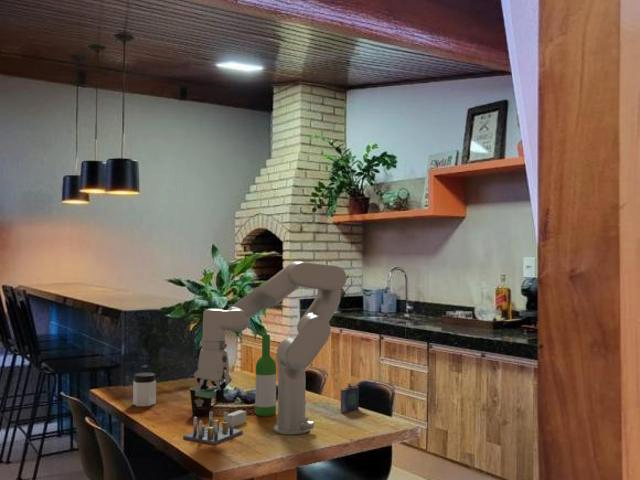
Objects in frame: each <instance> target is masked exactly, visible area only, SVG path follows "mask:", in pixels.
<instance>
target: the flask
mask: <svg viewBox="0 0 640 480" xmlns="http://www.w3.org/2000/svg"><path fill="white" fill-rule="evenodd" d="M346 385H347V386H346V387H344V388H340V413H341V414H347V413H351V412H355V411H359V408H360V407H359V402H360V401H359V400H360V396H359V394H360V387H359V386H357V385H352V384H351V383H350V382H347V383H346Z"/></svg>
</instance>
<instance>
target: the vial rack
mask: <svg viewBox="0 0 640 480" xmlns="http://www.w3.org/2000/svg"><path fill="white" fill-rule="evenodd" d="M227 414H228V412H227V411H224V412H223V422H222V423H221V426H220V420H218V419H213V418H214V417H213V416H214V411H210V412H209V416H208V419H209V420H208V423H209V424H208V426H206V427H205V425H204V423H203V422H204V421H203V420H200V419H199V420H198V417H195V416H193V431H192V432H190V433H189V432H188V433H187V434H185V435H182V436H183V440H188V441H193V442H199V443H204V444H208V445H212V446H215V445H218V444H220V443H223V442H225V441H227V440H229V439H232V438H235V437H237V436H239V435H243V433H244V431H243V430H241V429H236V428H234V427H233V415H230V427H228V422H227Z"/></svg>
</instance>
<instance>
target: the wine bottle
mask: <svg viewBox="0 0 640 480" xmlns="http://www.w3.org/2000/svg"><path fill="white" fill-rule="evenodd" d="M276 363H277V362H276V361H275V359H274V358H273V357H271V336H270V334H262V337H261V357H259V358H258V359H257V361H256V363H255V397H254V398H255V401H254V403H255V406H254V407H255V414H256V415H257V416H259V417H272V416H274V415H275V414H276V412H277V408H276V407H277V397H276V385H277V364H276Z"/></svg>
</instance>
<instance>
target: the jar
mask: <svg viewBox="0 0 640 480" xmlns="http://www.w3.org/2000/svg"><path fill="white" fill-rule="evenodd" d="M132 386H133V387H132V404H133V405H134V406H136V407H151V406H154V405H156V404H157V380H156V373H153V372H138V373H135V374H134V380H133V381H132Z"/></svg>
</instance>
